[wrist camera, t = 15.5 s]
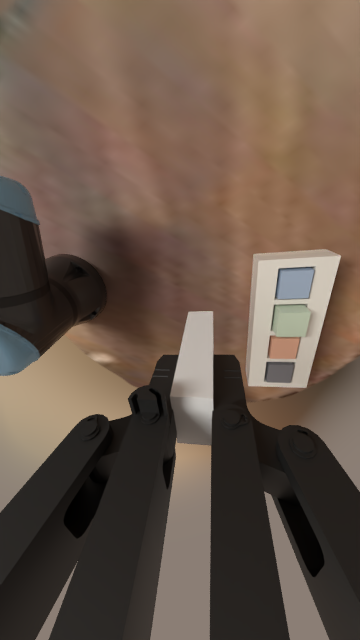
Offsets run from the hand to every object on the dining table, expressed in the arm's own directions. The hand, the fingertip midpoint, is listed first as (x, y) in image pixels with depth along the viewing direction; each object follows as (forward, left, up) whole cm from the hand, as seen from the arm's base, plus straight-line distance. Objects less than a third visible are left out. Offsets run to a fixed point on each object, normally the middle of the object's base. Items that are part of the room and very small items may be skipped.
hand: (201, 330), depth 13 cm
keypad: (+14, -16, -29) cm, 36 cm away
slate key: (+14, -6, -27) cm, 31 cm away
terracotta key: (+14, -19, -27) cm, 36 cm away
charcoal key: (+14, -26, -27) cm, 40 cm away
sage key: (+14, -13, -25) cm, 31 cm away
